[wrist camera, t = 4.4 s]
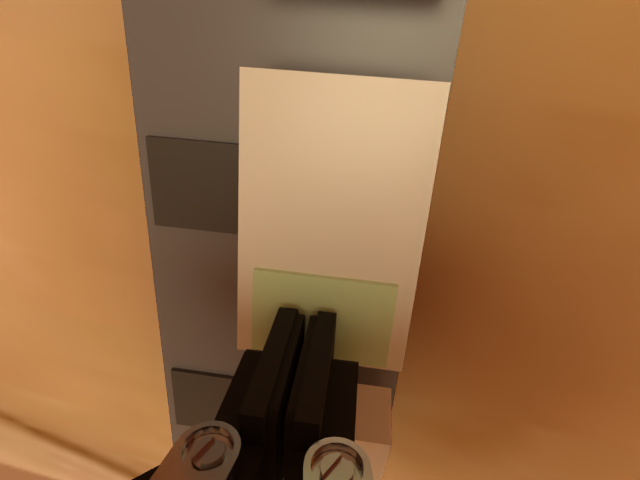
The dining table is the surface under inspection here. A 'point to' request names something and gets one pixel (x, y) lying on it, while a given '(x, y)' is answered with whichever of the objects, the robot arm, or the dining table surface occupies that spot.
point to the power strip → (223, 147)
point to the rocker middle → (335, 204)
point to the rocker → (374, 425)
